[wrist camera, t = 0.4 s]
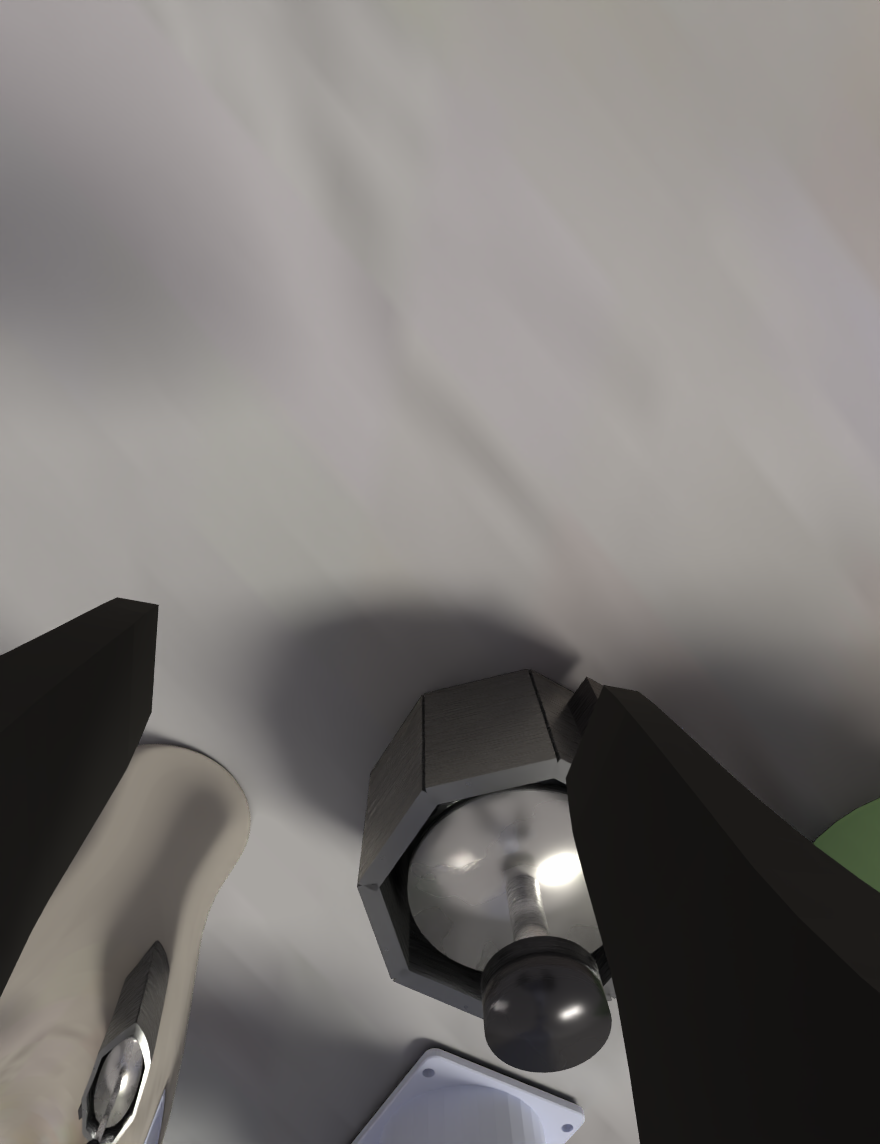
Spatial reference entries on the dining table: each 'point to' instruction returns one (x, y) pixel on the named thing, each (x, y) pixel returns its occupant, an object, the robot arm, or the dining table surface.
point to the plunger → (516, 922)
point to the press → (446, 775)
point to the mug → (856, 843)
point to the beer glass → (119, 958)
